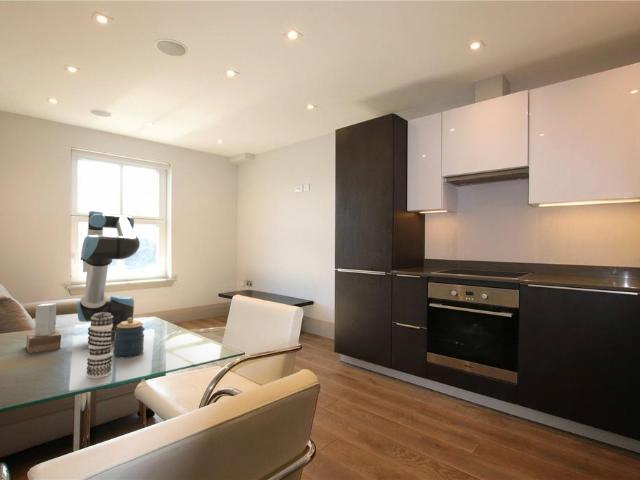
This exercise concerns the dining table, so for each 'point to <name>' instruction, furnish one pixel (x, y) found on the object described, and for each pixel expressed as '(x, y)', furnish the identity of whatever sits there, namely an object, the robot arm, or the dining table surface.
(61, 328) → the dining table surface
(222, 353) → the dining table surface
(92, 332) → the decorative candle
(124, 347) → the canister
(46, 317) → the skincare box
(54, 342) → the walnut block
